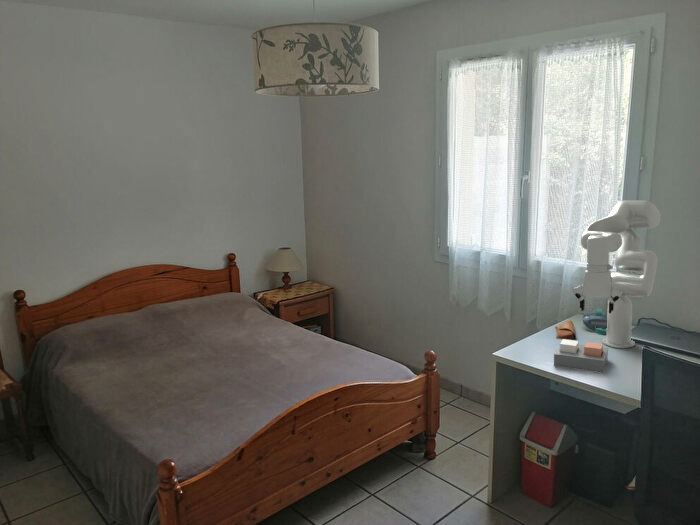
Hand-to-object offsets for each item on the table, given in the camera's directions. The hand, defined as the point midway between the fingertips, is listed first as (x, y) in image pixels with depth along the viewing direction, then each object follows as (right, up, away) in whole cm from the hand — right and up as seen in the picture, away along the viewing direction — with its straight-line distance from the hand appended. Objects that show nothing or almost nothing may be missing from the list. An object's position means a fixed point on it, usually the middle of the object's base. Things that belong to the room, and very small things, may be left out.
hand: (596, 311), depth 207 cm
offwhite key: (-6, -17, +10) cm, 21 cm away
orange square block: (+1, -17, +6) cm, 18 cm away
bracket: (+24, -13, +46) cm, 53 cm away
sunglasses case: (+5, -15, +43) cm, 46 cm away
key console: (-2, -22, +9) cm, 23 cm away
